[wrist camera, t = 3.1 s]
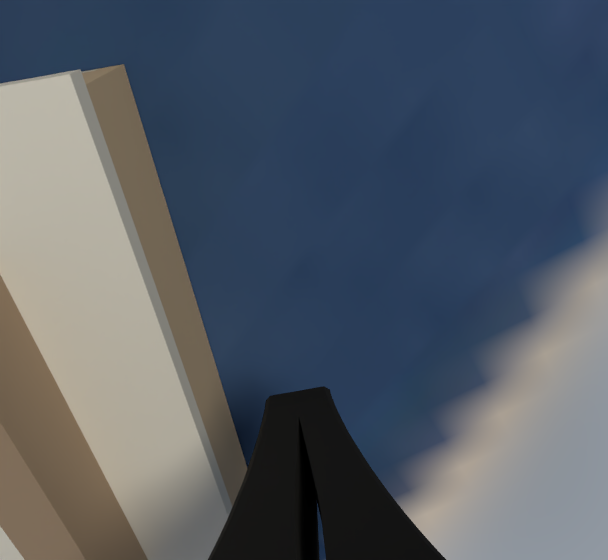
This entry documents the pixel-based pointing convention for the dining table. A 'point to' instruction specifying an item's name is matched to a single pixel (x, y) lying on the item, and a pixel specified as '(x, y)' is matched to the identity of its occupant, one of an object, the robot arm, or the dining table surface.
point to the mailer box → (165, 261)
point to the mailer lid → (88, 356)
